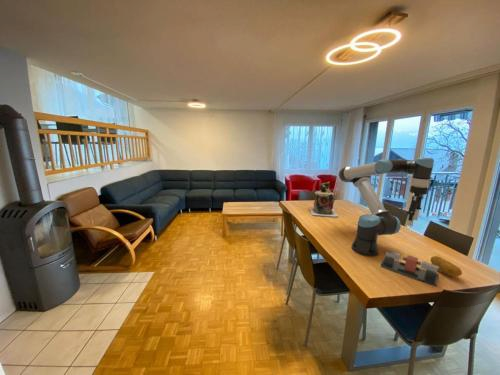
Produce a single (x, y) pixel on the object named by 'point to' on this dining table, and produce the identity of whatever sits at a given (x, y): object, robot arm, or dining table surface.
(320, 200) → the cookie jar
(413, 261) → the coupling
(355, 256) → the dining table surface
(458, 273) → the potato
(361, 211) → the dining table surface
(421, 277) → the bench
